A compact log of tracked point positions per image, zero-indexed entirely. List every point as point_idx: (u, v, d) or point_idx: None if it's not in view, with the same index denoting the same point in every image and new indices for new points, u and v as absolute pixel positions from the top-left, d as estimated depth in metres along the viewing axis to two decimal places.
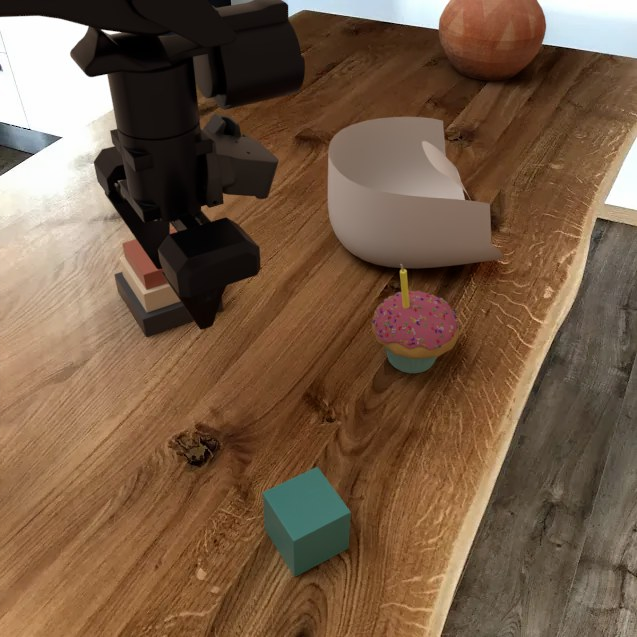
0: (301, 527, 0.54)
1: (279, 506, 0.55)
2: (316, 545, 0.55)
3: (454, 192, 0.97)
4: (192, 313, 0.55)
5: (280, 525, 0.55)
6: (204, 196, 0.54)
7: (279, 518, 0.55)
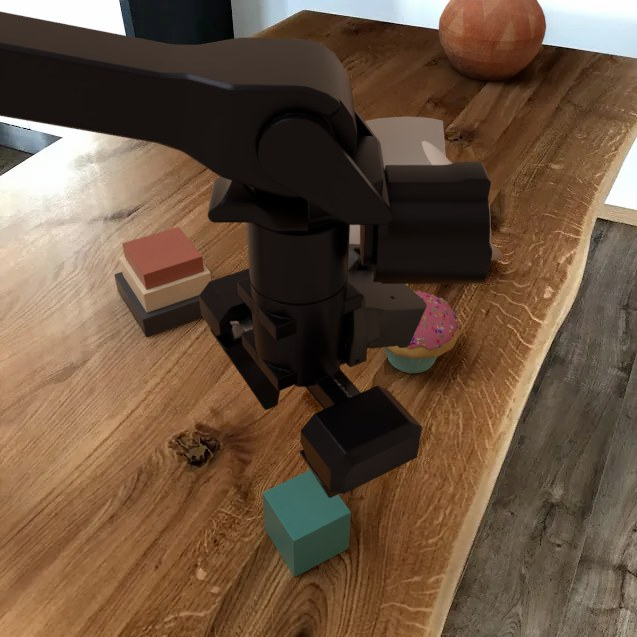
0: (301, 527, 0.54)
1: (279, 506, 0.55)
2: (316, 545, 0.55)
3: None
4: (326, 487, 0.47)
5: (280, 525, 0.55)
6: (346, 355, 0.45)
7: (279, 518, 0.55)
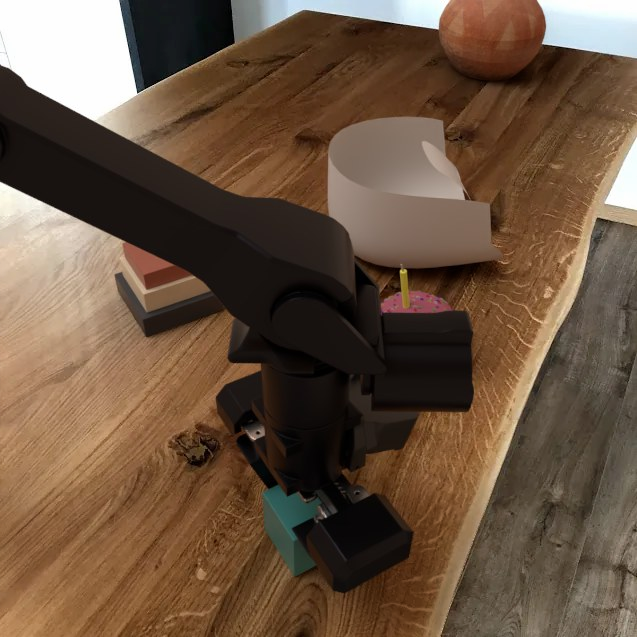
0: None
1: (279, 506, 0.55)
2: None
3: (454, 192, 0.97)
4: None
5: (280, 525, 0.55)
6: (347, 462, 0.51)
7: (279, 518, 0.55)
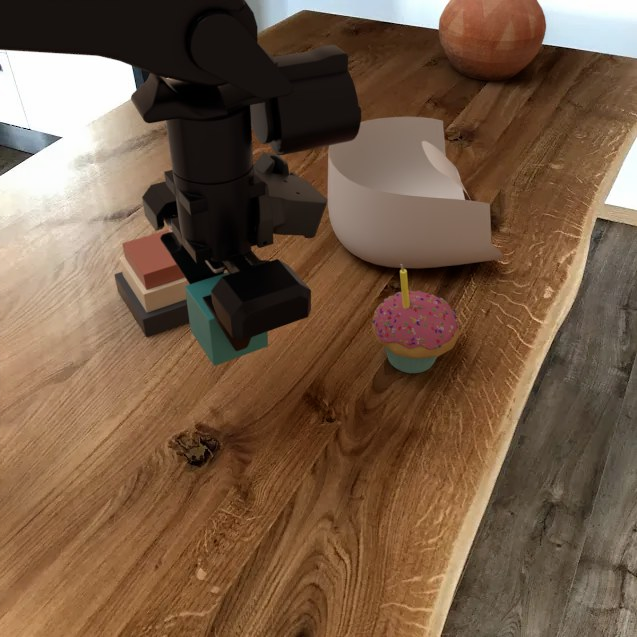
0: None
1: (199, 295, 0.59)
2: None
3: (454, 192, 0.97)
4: (229, 336, 0.57)
5: (199, 311, 0.58)
6: (255, 237, 0.54)
7: (198, 304, 0.58)
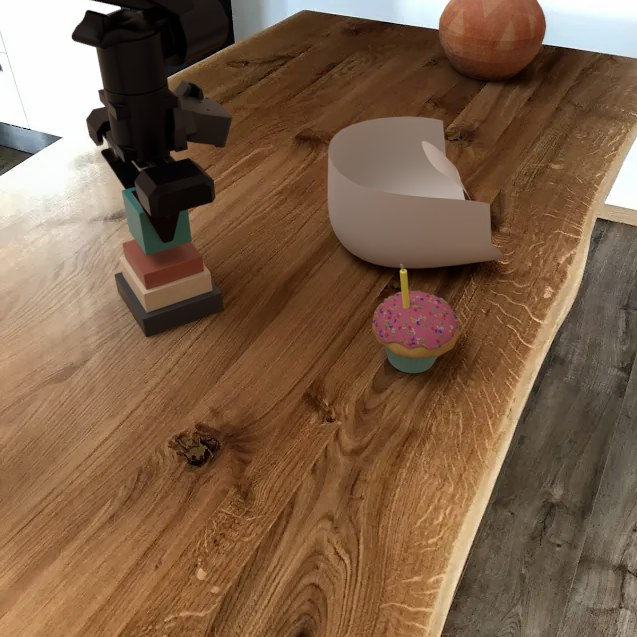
0: None
1: (132, 197, 0.73)
2: None
3: (454, 192, 0.97)
4: (155, 227, 0.71)
5: (132, 209, 0.72)
6: (172, 143, 0.68)
7: (131, 202, 0.72)
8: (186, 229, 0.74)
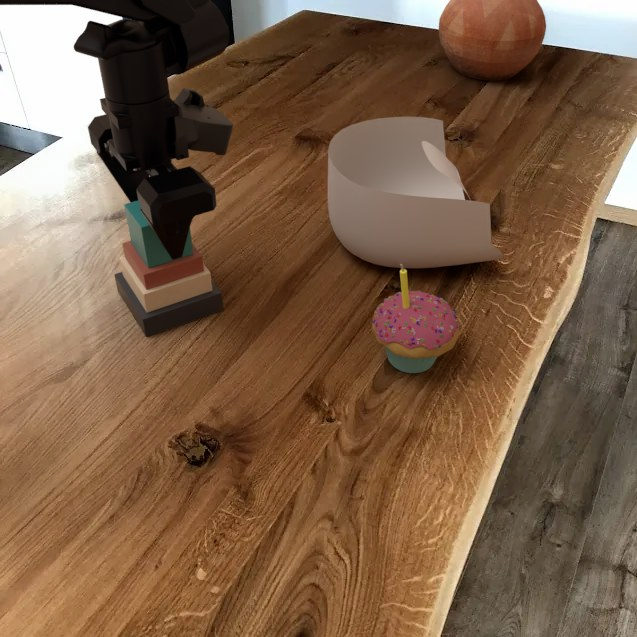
0: None
1: (134, 211, 0.74)
2: None
3: (454, 192, 0.97)
4: (165, 244, 0.70)
5: (134, 223, 0.73)
6: (174, 151, 0.69)
7: (133, 216, 0.73)
8: (188, 242, 0.75)
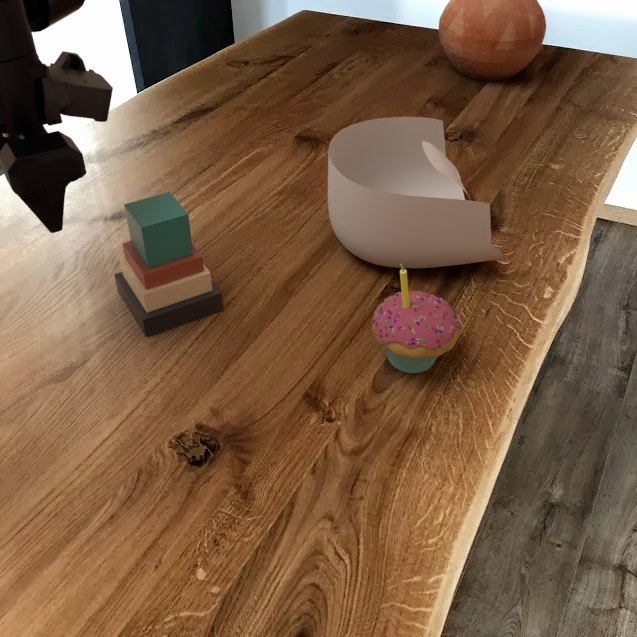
0: (148, 221, 0.72)
1: (134, 211, 0.74)
2: (163, 240, 0.74)
3: (454, 192, 0.97)
4: (38, 215, 0.66)
5: (134, 223, 0.73)
6: (44, 116, 0.64)
7: (133, 216, 0.73)
8: (188, 242, 0.75)
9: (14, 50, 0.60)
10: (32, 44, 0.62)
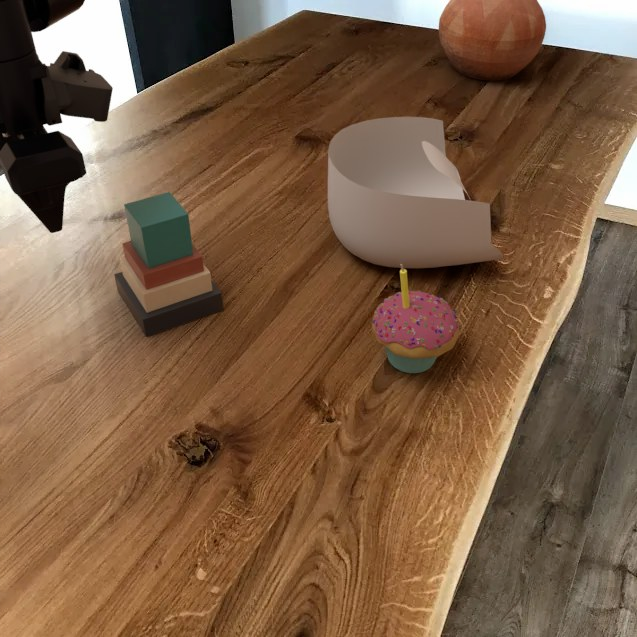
0: (148, 221, 0.72)
1: (134, 211, 0.74)
2: (163, 240, 0.74)
3: (454, 192, 0.97)
4: (38, 215, 0.66)
5: (134, 223, 0.73)
6: (44, 116, 0.64)
7: (133, 216, 0.73)
8: (188, 242, 0.75)
9: (14, 50, 0.60)
10: (32, 44, 0.62)
